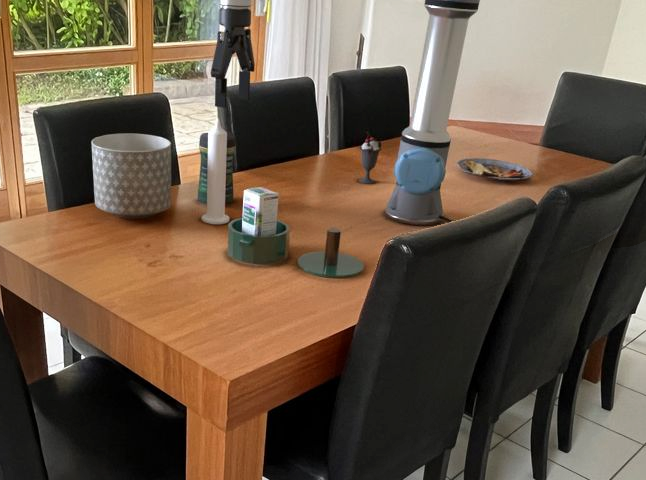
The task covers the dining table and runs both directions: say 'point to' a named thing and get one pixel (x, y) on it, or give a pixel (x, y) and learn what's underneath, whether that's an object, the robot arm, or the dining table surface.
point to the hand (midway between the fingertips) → (232, 103)
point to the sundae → (369, 157)
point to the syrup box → (259, 212)
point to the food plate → (494, 169)
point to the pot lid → (331, 260)
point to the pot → (258, 244)
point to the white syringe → (216, 176)
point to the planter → (132, 174)
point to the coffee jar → (204, 167)
